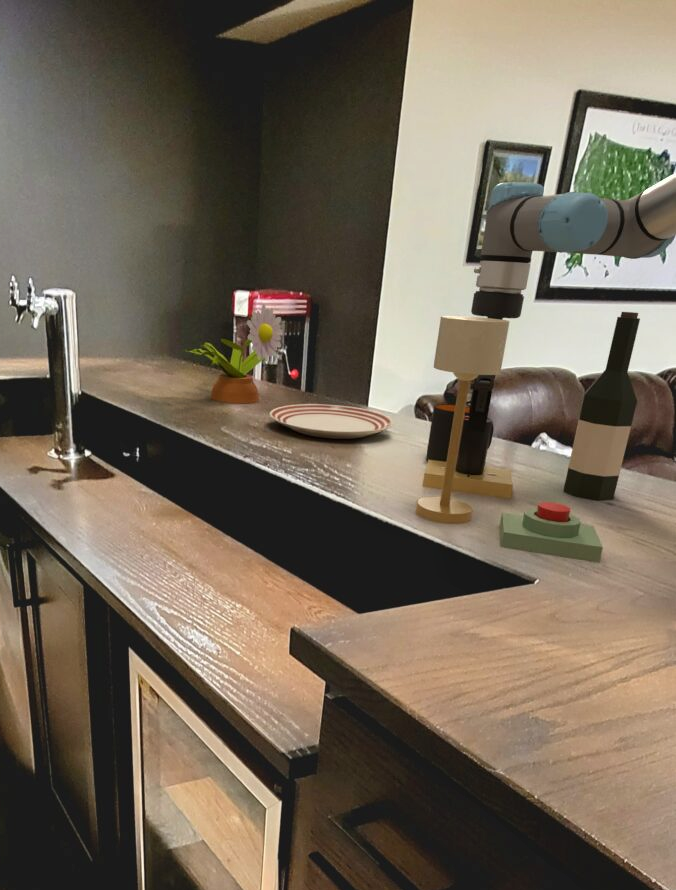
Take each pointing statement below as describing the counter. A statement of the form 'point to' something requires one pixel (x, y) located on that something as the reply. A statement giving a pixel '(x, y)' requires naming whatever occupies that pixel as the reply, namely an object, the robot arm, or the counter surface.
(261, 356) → the decorative plant
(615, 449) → the wine bottle
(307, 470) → the counter surface
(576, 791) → the counter surface
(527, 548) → the switch block
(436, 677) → the counter surface
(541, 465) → the counter surface
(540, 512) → the lamp button
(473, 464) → the black cylinder
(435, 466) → the tan flat block
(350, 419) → the dinner plate
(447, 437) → the mug
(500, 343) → the lamp
